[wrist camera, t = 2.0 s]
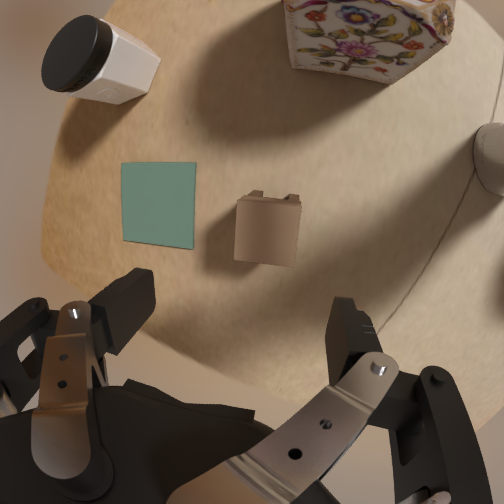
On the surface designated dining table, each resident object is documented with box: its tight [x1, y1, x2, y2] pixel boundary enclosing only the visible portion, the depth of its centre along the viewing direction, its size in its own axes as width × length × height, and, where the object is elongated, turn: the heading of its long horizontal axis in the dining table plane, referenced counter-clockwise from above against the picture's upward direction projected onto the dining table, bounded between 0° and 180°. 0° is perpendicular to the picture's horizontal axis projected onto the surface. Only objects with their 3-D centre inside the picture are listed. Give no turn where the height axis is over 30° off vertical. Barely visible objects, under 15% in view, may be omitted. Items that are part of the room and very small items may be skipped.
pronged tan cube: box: [234, 190, 302, 268], centre depth 25 cm, size 5×5×8 cm
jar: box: [41, 15, 161, 105], centre depth 20 cm, size 9×8×12 cm
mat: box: [121, 162, 196, 249], centre depth 31 cm, size 10×10×1 cm
